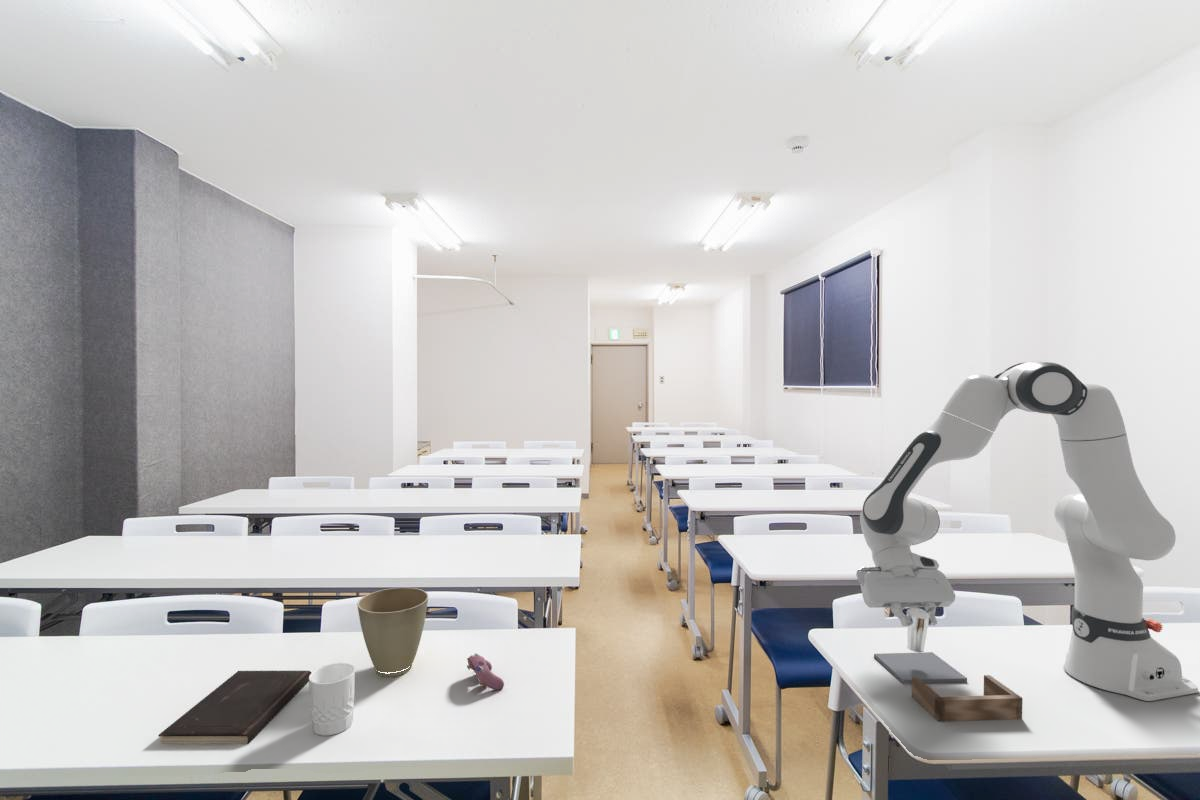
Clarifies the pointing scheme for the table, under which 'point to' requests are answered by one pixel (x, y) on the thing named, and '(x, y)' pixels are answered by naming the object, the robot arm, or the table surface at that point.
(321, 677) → the white cup
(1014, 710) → the walnut cubby
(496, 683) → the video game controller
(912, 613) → the milkshake
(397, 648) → the plant pot
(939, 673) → the grey pad
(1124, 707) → the table surface
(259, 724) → the hardcover book
